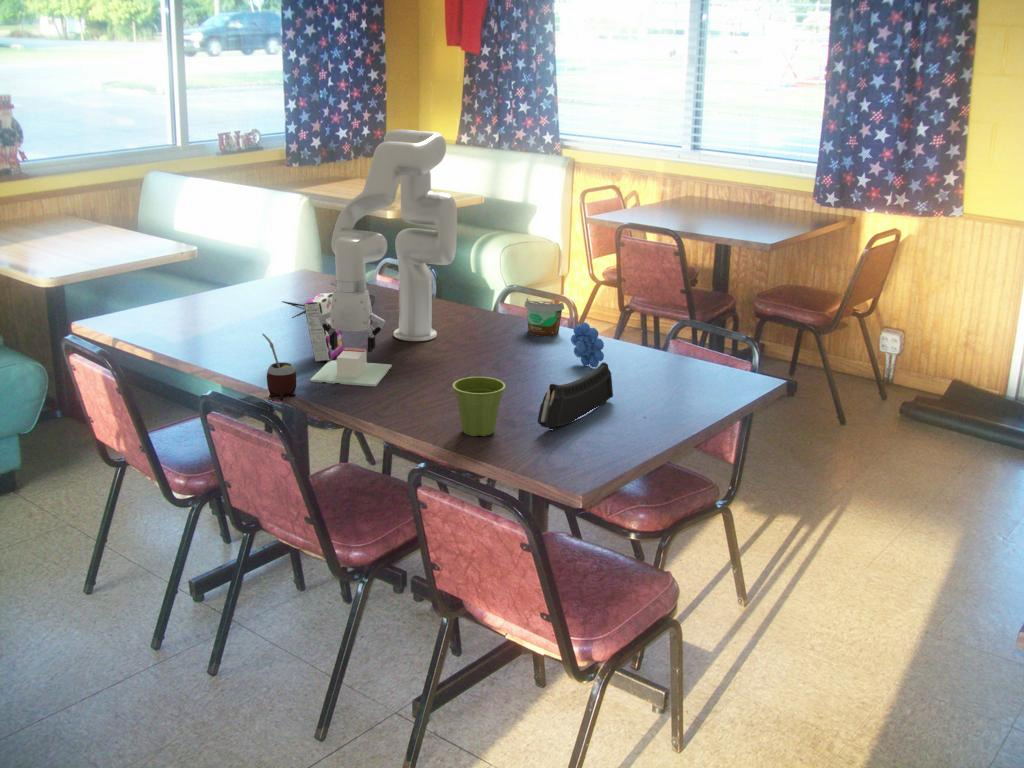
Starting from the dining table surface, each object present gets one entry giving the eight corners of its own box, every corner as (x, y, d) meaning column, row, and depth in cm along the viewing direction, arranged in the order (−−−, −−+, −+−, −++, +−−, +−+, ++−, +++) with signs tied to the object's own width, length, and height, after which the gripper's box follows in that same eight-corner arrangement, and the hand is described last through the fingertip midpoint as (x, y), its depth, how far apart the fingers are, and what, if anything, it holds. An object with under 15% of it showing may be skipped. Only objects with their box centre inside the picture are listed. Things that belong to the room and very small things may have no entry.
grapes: (559, 363, 298) (561, 321, 294) (576, 359, 303) (578, 317, 299) (591, 374, 290) (594, 330, 286) (608, 369, 295) (610, 326, 291)
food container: (517, 334, 325) (518, 301, 322) (524, 329, 330) (526, 297, 327) (556, 339, 321) (557, 306, 318) (563, 334, 326) (564, 302, 323)
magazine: (608, 362, 271) (549, 355, 245) (619, 364, 269) (562, 357, 243) (594, 429, 272) (534, 429, 246) (606, 432, 270) (547, 432, 244)
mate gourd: (296, 401, 263) (294, 341, 258) (263, 401, 261) (260, 341, 257) (297, 391, 270) (295, 332, 265) (264, 391, 268) (262, 333, 264)
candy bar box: (327, 350, 303) (318, 293, 298) (344, 349, 302) (335, 292, 297) (313, 362, 292) (303, 302, 288) (330, 361, 291) (320, 301, 287)
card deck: (336, 376, 280) (336, 356, 278) (346, 366, 288) (345, 347, 286) (358, 377, 279) (357, 358, 278) (366, 367, 287) (366, 348, 286)
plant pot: (461, 419, 254) (462, 373, 251) (510, 426, 251) (512, 380, 247) (444, 437, 243) (444, 389, 240) (494, 444, 240) (496, 396, 237)
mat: (330, 362, 293) (330, 360, 293) (391, 366, 291) (391, 364, 291) (310, 381, 277) (310, 379, 277) (375, 386, 275) (375, 384, 275)
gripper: (313, 287, 274) (315, 352, 280) (380, 291, 272) (381, 356, 278) (322, 280, 281) (324, 343, 287) (387, 284, 279) (388, 347, 285)
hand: (352, 349), depth 282 cm, fingers open, 9 cm apart
